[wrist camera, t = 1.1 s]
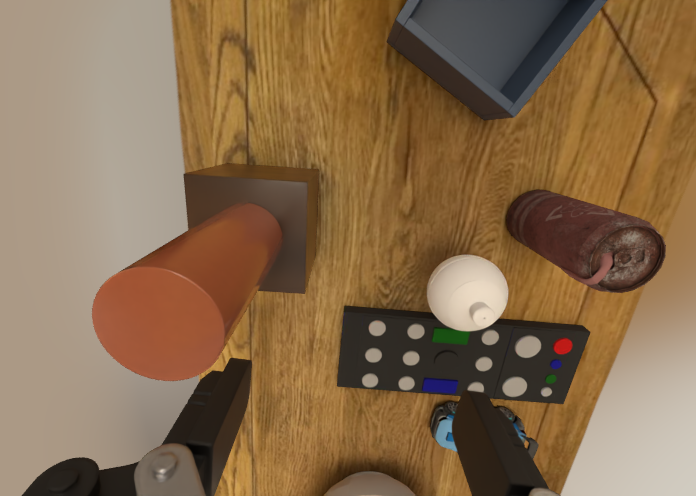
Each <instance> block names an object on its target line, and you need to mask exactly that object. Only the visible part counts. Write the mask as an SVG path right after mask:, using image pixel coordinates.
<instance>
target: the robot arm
mask: <svg viewBox="0 0 696 496" xmlns="http://www.w3.org/2000/svg"><path fill="white" fill-rule="evenodd" d="M251 368H252V361H251V360H244V359H237V358H230V360H229V361H228V363H227V365H226V367H225V369H224V371H223V372H221V371H211V372H210V373H209V374H208V375H206V376H205V377H204V378H202V379H201V380H200V382H199V384H198V385H197V387H196V389H195V390H194V393H193V394H192V395H191V397H190V399H189V400H188V403H187V404H186V405H185V407H184V409H183V410H182V412H181V414H180V415H179V417H178V419H177V420H176V422H175V424H174V425H173V427H172V429H171V430H170V432H169V434H168V435H167V437H166V439H165V440H164V442H163V443H162V445H161V446H159V447H157V448H155V449H153V450H151V451H150V452H149V453H147V454H146V455H145V456H144V457H143V458H142V459H141V460H140V461H139V462H137V463H134V464H130V465H126V466H121V467H115V468H109V469H104V470H99V467H98V465H97V464H96V462H95V461H93V460H92V459H89V458H72V459H69V460H65V461H62V462H60V463H58V464H56V465H54V466H52V467H50V468H49V469H47V470H46V471H45V472H43V473H42V474H41V475H40V476H38V477H37V479H36V480H35V481H34V482H33V483H32V484H31V485H30V486H29V488H28V489H27V490H26V491H25V492H24V494H23V495H22V496H214V495H215V492H216V489H217V486H218V484H219V481H220V478H221V476H222V473H223V470H224V468H225V465H226V462H227V460H228V457H229V454H230V452H231V449H232V446H233V443H234V441H235V438H236V435H237V433H238V430H239V427H240V425H241V422H242V419H243V417H244V414H245V411H246V408H247V404H248V399H249V393H250V380H251ZM518 435H519V434H518V432H517V431H516V429H515V427H514V425H513V423H512V422H511V420H510V419H509V418H508V417H507V416H506V415H505V414H504V413H503V412H502V411H501V410H500V409H495V408H494V407H493V405H492V403H491V401H490V399H489V397H488V395H487V394H486V393H484V392H478V391H470V390H464V391H463V392H462V394H461V397H460V400H459V403H458V406H457V409H456V412H455V415H454V418H453V421H452V436H453V440H454V443H455V446H456V449H457V452H458V455H459V458H460V461H461V464H462V467H463V470H464V473H465V476H466V479H467V482H468V485H469V488H470V490H471V493H472V496H560V495H559V494H557V493H555V492H554V491H551V490H549V488H548V486H547V484H546V482H545V481H544V479H543V477H542V475H541V474H540V472H539V470H538V468H537V466H536V465H535V463H534V461H533V459H532V457H531V456H530V454H529V452H528V450H527V449H526V448H525V445H524V443H523V441H522V440H521V438H520V437H519V436H518Z"/></svg>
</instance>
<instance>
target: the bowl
mask: <svg viewBox="0 0 696 496" xmlns="http://www.w3.org/2000/svg"><path fill="white" fill-rule="evenodd" d="M324 496H416V495H415V494H414V493H413V492H412V491H411V490H410V489H409V488H408V487H407V486H406V485H404V484H403V483H401V482H400V481H398V480H395V479H393V478H392V477H390V476H388V475H386V474H383V473H379V472H373V471H364V472H358V473H355V474H352V475H350V476H348V477H346V478H345V479H343V480H342V481H340V482H338V483H336V484H335V485H334V486H332V487H331V488H330V489H329V490H328V491H327V493H326V494H325V495H324Z"/></svg>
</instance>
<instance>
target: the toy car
mask: <svg viewBox="0 0 696 496" xmlns="http://www.w3.org/2000/svg"><path fill="white" fill-rule="evenodd" d="M457 406H458V404H457V403H455V402H451V401H449V402H447V403H446V404H445V406H444V405H440V406H438V407H437V408H436V410H435V412H434V414H433V417H432V420H431V425H430V429H431V433H432V437H433V438H435V439H436V441H437V442H438V443H439V444H440V445H441V446H442V447H445V448H448V449H451V450H454V451H456V452H457V449H456V446H455V443H454V440H453V436H452V421H453V418H454V415H455V412H456V409H457ZM496 409H500V410H501V411H502V412H503V413H504V414H505V415H506V416H507V417H508V418H509V419H510V420H511V422H512V423H513V425H514V427H515V429H516V431H517V432H518V434H519V435H518V436H519V437H520V438H521V440H522V441H523V443H525V440H527V441H528V442H529V445H528V448H527V450H528V452H529V454H530V456H531V457H532V459H533V458H534V456H535V453H536V451H537V448H538V443H537V442H536V441H535V440H534V439H532V438H528V437H526V433H525V431H524V426H523V424H522V422H521V420H520V419H519V418H518V417H517V416H516V415H515V416H514V414H513V413H512V412H511V411H510V410H509V409H507V408H505V407H497V408H496Z"/></svg>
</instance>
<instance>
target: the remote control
mask: <svg viewBox="0 0 696 496" xmlns="http://www.w3.org/2000/svg"><path fill="white" fill-rule="evenodd" d="M589 335H590V331H588V330H587V329H586V328H585V327H584V326H581V325H569V324H557V323H545V322H533V321H521V320H509V319H497V320H496V321H495V322H494V323H493V324H492V325H490V326H488V327H486V328H484V329H481V330H476V331H460V330H456V329H453V328H450V327H448V326H446V325H445V324H443V323H442V322H441V321H439V320H438V319H437V317H436V316H435V315H434V314H433V313H425V312H413V311H401V310H389V309H377V308H365V307H353V306H345V307H344V317H343V327H342V338H341V348H340V358H339V369H338V379H337V386H338V387H351V388H363V389H376V390H389V391H402V392H415V393H428V394H440V395H453V396H461V394H462V392H463V391H464V390H470V391H478V392H484V393H486V394H487V395H488V397H489V398H492V399H505V400H518V401H530V402H543V403H556V404H564V401H565V398H566V396H567V393H568V390H569V388H570V385H571V382H572V380H573V377H574V374H575V372H576V369H577V366H578V364H579V361H580V359H581V356H582V353H583V351H584V348H585V345H586V343H587V340H588V337H589Z"/></svg>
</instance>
